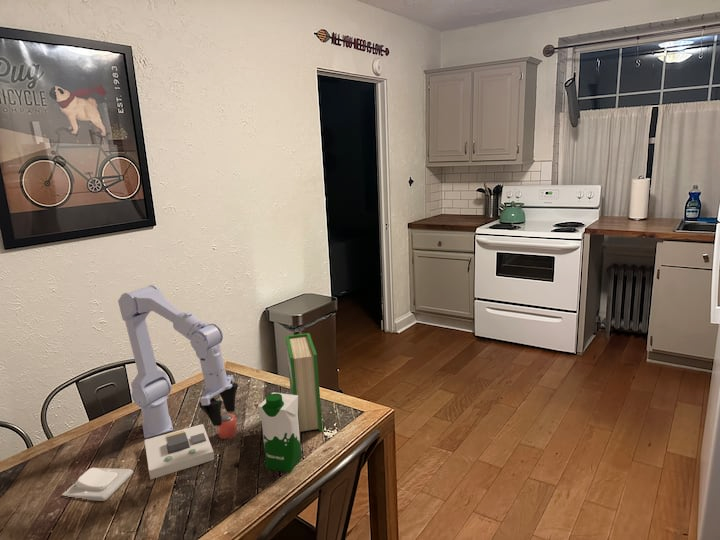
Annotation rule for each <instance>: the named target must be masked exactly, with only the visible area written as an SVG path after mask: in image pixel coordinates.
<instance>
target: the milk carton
mask: <svg viewBox="0 0 720 540" xmlns="http://www.w3.org/2000/svg"><path fill="white" fill-rule="evenodd" d="M257 410H258V412H259V415H260V420H261V428H262V437H263V447H264V459H265V460H264V461H265V469H267V470H272V471H278V472H281V473H282V472H284V473H289V474H291V473H292V471H293V470H294V468H295V467H296V465H298V463H299V461H300V460H301V459H302V457H303V454H302V447H301V437H300V436H301V434H300V435H299V423H298V395H291V393H281V392H271V393H270V394H268V395H267V396H266V397H265V398H264V400H263V401H262V402H261V403H260V404H258V406H257Z"/></svg>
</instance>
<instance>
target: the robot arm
mask: <svg viewBox="0 0 720 540" xmlns="http://www.w3.org/2000/svg"><path fill="white" fill-rule="evenodd" d="M117 303H118V307H119V310H120V315H121V318H122V321H124V323H125V326H126V330H127V334H128V338H129V343H130V345H131V350H132V355H133V358H134V361H135V362H134V363H135V365H136V366H135V367H136V370H137V375H136V376H135V377H134V379H133V380H132V381H131V384H130V385H131V398H132V401H133V403H134V404H135V405H136V406H137V407H139V408H140V411H141V414H142V424H141V425H142V430H143V437H144V439H149V438H153V437H156V436H160V435H164V434H165V433H166V434H167V433H171V432H174V426H173V423H172V420H171V419H172V418H171V416H170V413H169V412H170V411H169V407H168V401H167V399H169V394H171V392H172V384H171V382H170V379H169V378H168V376H167V373H166V371H164V370H161V369H159V368H158V366H157V362H156V358H155V354H154V351H153V350H154V349H153V346H152V342H151V338H150V333H149V329H148V324H147V321H146V319H147V317H148V315H149V314H150V313H151V312H154V313H156V314H157V315H159V316H160V317H162V318H164V319H166V320H167V321H169V322H171V323H172V327H173V329H174V330H175V331H176V332H178V333H179V334H181V335H182V336H184V337H185V338H186V339H187V340H189V343H190V346H191V348H192V349H193V350H194V351H195V355H196V357H197V358H198V359H199V363H200V367H201V372H202V376H203V380H204V385H205V390H204V392H203V394H202V396H201V397H200V399H199V400H200V402H199V403H198V405H199V408H201V410H202V411H204V412H205V414H206V415H207V417H208V418H209V419H210V421H211V424H212V425H213V426H214V427H215V426H217V427H218V426H220V425H221V424H222V418H221V415H222V403H223V404H224V409H225V411H226V412H227V413H229V412H230V413H231V412H232V413H233V412H235V411H236V410H235V409H236V408H235V407H236V394H237V391H238V390H237V389H238V386H239V385H238V384H239V383H235V378H234V375H233V374H228V375H227V372H226V367H225V363H224V357H223V354H222V349H221V345H220V344H222V342H223V339H224V338H223V337H224V335H223V331H222V330H221V327H219V326H218V325H217V324H215V323H214V322H213V323H208V322H206V323H205V321H203V320H201V319H199V318H198V317H197V316H196V315H194V314H193V313H192V312H190V311H181V310H180V309H178V308H177V307H176V306H174V305H173V304H172V303H171V302H170V301H168V300H167V299H166V298H164V294H163V292H162V289H160V288H158V287H157V286H156V285H154V284H151V285H148V286H145V287H141V288H138V289H135V290H132V291H129V292H124V293H122V294H121V295H120V297H119V298H118V300H117ZM218 395H219V396H220V397H221V399H222V400H216V399H215V398H216V397H217V396H218Z"/></svg>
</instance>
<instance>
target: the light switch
mask: <svg viewBox="0 0 720 540" xmlns="http://www.w3.org/2000/svg"><path fill="white" fill-rule="evenodd" d="M133 474H134V470H132V469H131V468H109V467H108V468H107V467H106V468H105V467H91V468H89V469H87V470H86V471H85V472H83V474H81V475H80V476H79V477H78V478H77V481H75V484H74V483H73V484H72V485H71V486H70V487H69V488H67V491H66V490H64V492H63V493H62V494H61V495H64V496H68V497H75V498H74V499H77V498H82V499H81V500H86V499H87V500H88V501H98V502H99V501H100V502H105V501H106V500H108V499H109V498H110V497H111V496H112V495H113V494H114V493H115V492H116V491H117V489H119V488H120V487H121V486H122V485H123V484H124V483H125V482H126V481H127V480H128V479H129V478H130V477H131V476H132V475H133ZM68 497H67V498H68Z"/></svg>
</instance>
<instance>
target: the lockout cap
mask: <svg viewBox="0 0 720 540" xmlns="http://www.w3.org/2000/svg"><path fill="white" fill-rule="evenodd" d="M221 418H222V424H221V425H220V426H217V430H218V431H217V432H218V437H219V438H220V439H223V440H227V439H228V440H229V439H231V438H233V437H235V436H236V435H237V433H238V427H237V419H236V415H235V414H234V413H225V414H221Z"/></svg>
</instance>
